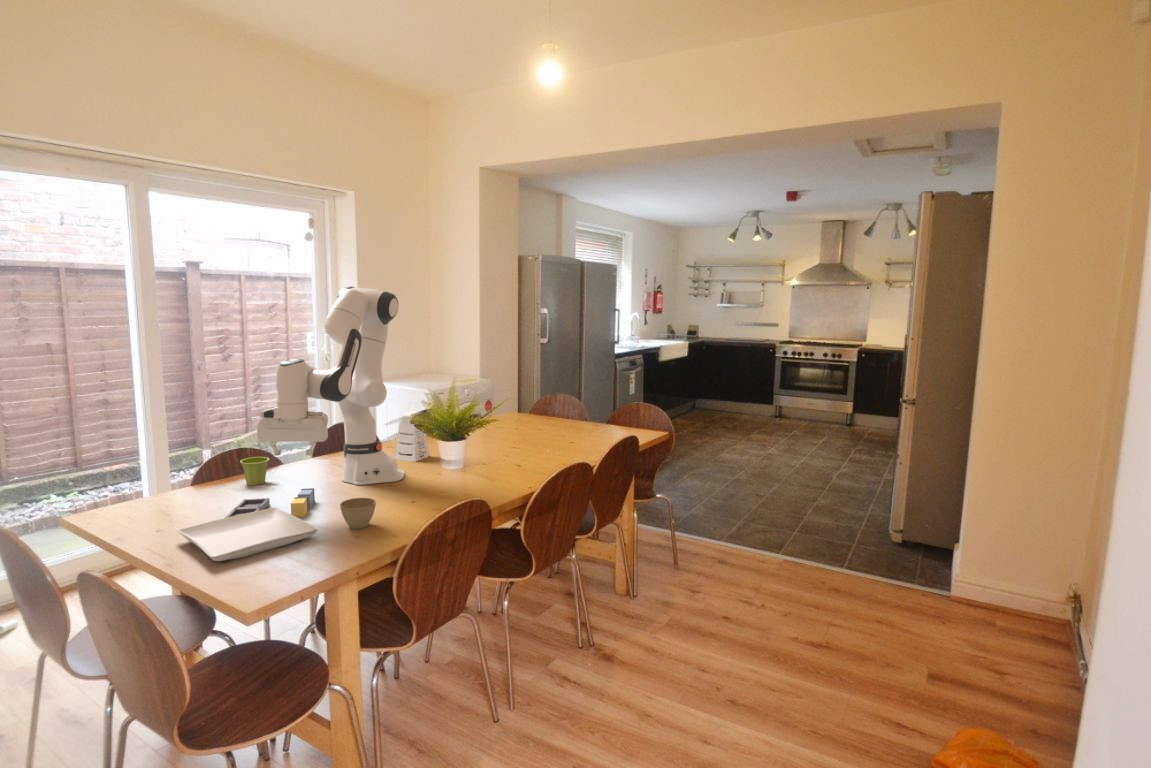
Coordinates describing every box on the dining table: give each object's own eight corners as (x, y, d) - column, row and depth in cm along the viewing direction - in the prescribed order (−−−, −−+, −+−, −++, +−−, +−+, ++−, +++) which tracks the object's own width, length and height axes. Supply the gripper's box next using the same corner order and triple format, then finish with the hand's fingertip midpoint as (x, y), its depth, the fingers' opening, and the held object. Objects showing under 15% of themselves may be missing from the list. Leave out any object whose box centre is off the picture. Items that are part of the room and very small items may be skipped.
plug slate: (314, 501, 200) (314, 488, 200) (310, 507, 194) (310, 493, 194) (302, 502, 200) (301, 488, 199) (298, 508, 194) (297, 494, 193)
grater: (429, 456, 263) (429, 411, 260) (415, 462, 253) (414, 415, 250) (409, 454, 266) (408, 409, 264) (394, 459, 257) (393, 413, 254)
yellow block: (308, 510, 192) (308, 496, 191) (304, 516, 186) (303, 502, 185) (295, 511, 191) (295, 497, 190) (290, 517, 185) (290, 503, 184)
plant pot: (275, 479, 224) (274, 457, 223) (260, 487, 215) (258, 463, 214) (252, 478, 225) (250, 456, 224) (235, 486, 216) (234, 462, 215)
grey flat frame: (269, 504, 196) (269, 498, 196) (252, 524, 179) (251, 516, 179) (244, 506, 195) (243, 499, 195) (224, 525, 177) (223, 518, 177)
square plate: (212, 571, 148) (211, 556, 147) (176, 542, 165) (175, 528, 165) (319, 540, 168) (319, 526, 167) (277, 517, 186) (276, 505, 185)
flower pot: (343, 534, 172) (342, 510, 171) (339, 523, 181) (338, 500, 180) (379, 528, 177) (378, 505, 176) (373, 518, 185) (372, 495, 184)
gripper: (330, 410, 191) (330, 453, 192) (262, 409, 188) (263, 452, 190) (324, 413, 185) (325, 457, 186) (254, 412, 182) (255, 457, 183)
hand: (293, 455), depth 188 cm, fingers open, 8 cm apart
